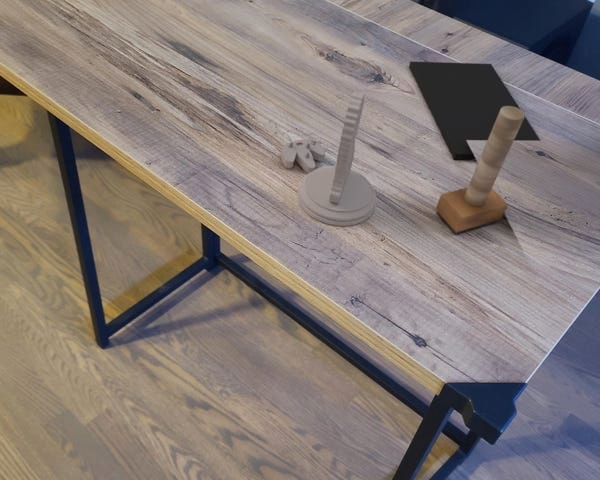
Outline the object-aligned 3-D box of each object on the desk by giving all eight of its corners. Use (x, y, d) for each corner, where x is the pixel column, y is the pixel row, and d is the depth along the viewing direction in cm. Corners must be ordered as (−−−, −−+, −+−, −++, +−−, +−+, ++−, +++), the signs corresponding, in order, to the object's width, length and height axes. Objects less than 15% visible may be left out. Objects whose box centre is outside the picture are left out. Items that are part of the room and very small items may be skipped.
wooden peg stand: (477, 200, 77) (524, 96, 65) (499, 222, 74) (551, 118, 63) (433, 212, 74) (474, 106, 63) (454, 236, 72) (500, 130, 60)
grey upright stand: (382, 185, 77) (412, 77, 65) (367, 235, 70) (397, 126, 59) (308, 165, 77) (325, 56, 66) (287, 213, 71) (301, 101, 60)
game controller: (301, 181, 75) (303, 164, 73) (239, 137, 80) (240, 120, 78) (331, 163, 78) (334, 146, 76) (270, 122, 83) (271, 106, 81)
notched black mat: (488, 69, 99) (491, 63, 98) (546, 159, 84) (549, 154, 83) (408, 67, 97) (410, 61, 96) (453, 159, 82) (455, 153, 81)
